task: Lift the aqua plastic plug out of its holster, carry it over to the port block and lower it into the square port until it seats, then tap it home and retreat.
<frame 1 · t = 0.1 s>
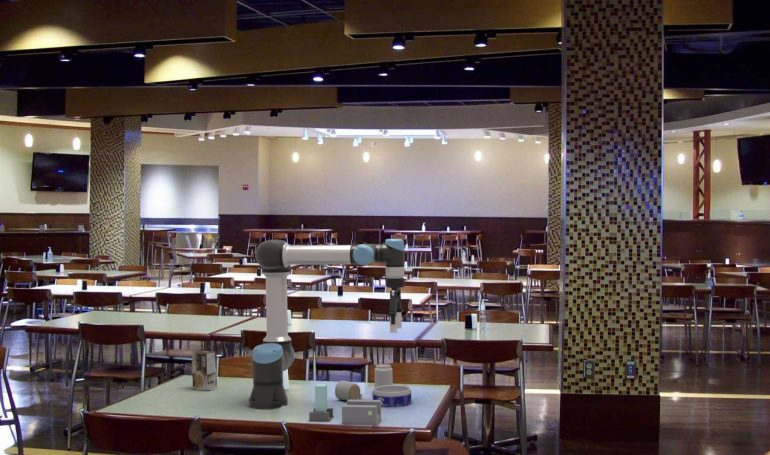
hand: (395, 330, 338), 28 cm above the table, tool pointing down, fingers open, 13 cm apart
holster: (321, 421, 304), on the table
dog bowl: (392, 404, 333), on the table
port: (362, 422, 301), on the table
coffee box: (204, 389, 367), on the table
ceramic mug: (349, 400, 341), on the table
plug: (321, 418, 304), point 1 cm above the table, touching holster
can: (383, 394, 352), on the table
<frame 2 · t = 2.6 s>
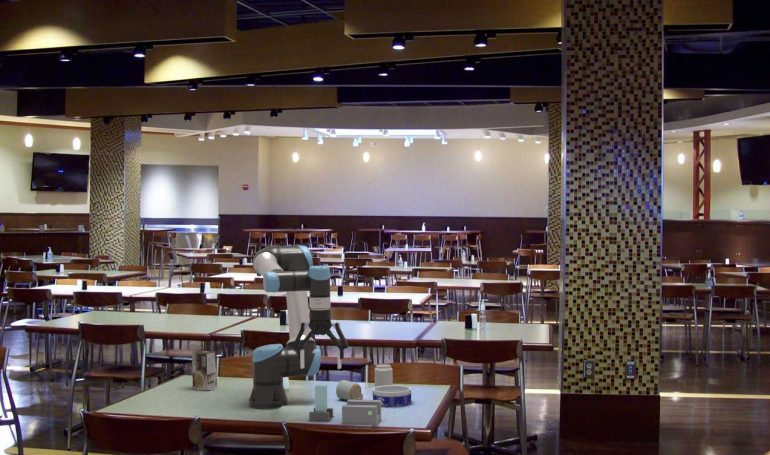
hand: (320, 368, 304), 19 cm above the table, tool pointing down, fingers open, 13 cm apart
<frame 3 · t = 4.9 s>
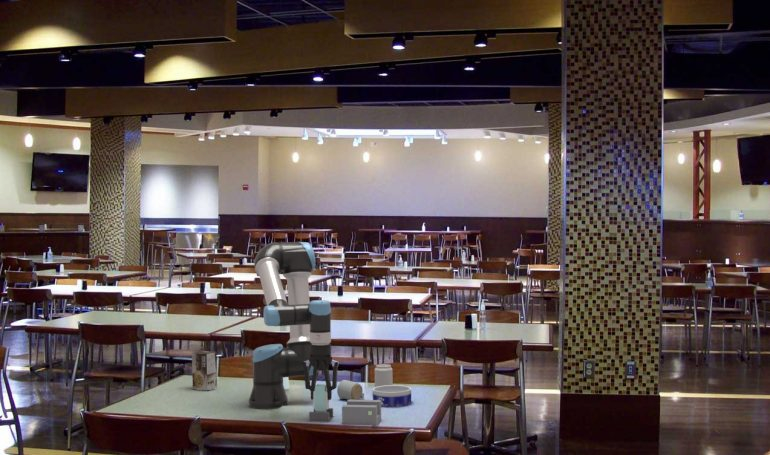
hand: (321, 408, 304), 5 cm above the table, tool pointing down, fingers closed on plug, 4 cm apart
plug: (321, 418, 304), point 1 cm above the table, touching gripper, holster
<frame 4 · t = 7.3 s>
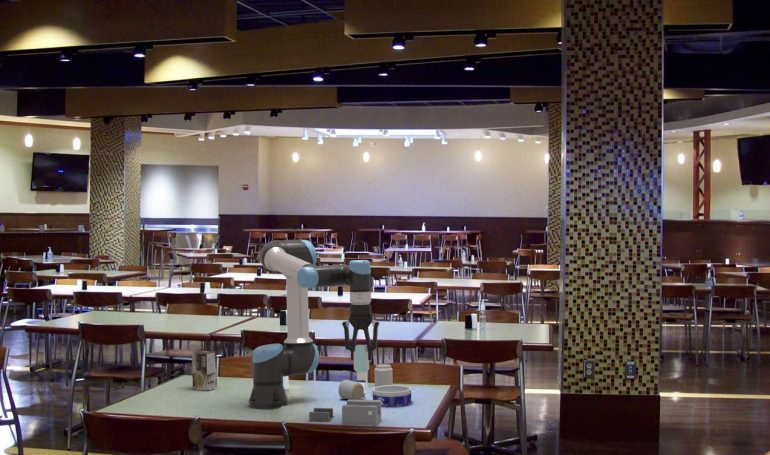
hand: (361, 369, 300), 19 cm above the table, tool pointing down, fingers closed on plug, 4 cm apart
plug: (361, 379, 300), point 16 cm above the table, touching gripper
when the fingers open (5 cm above the table, at t = 10.0 s): plug drops 1 cm, resting in port.
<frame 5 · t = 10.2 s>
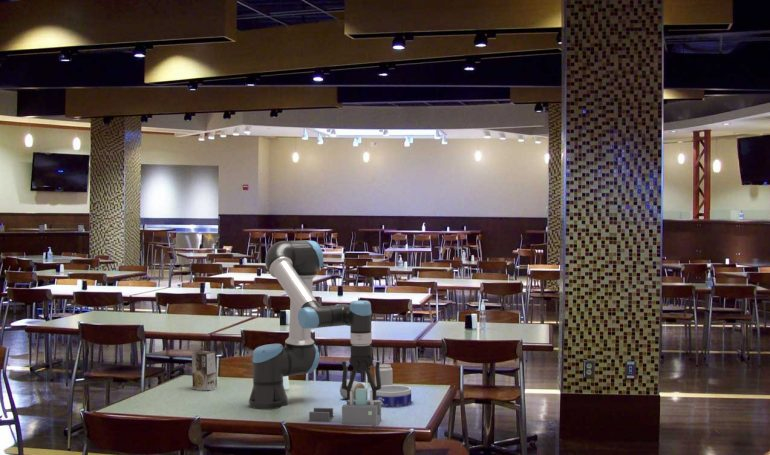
hand: (361, 409, 301), 5 cm above the table, tool pointing down, fingers open, 7 cm apart
plug: (362, 423, 301), resting in port
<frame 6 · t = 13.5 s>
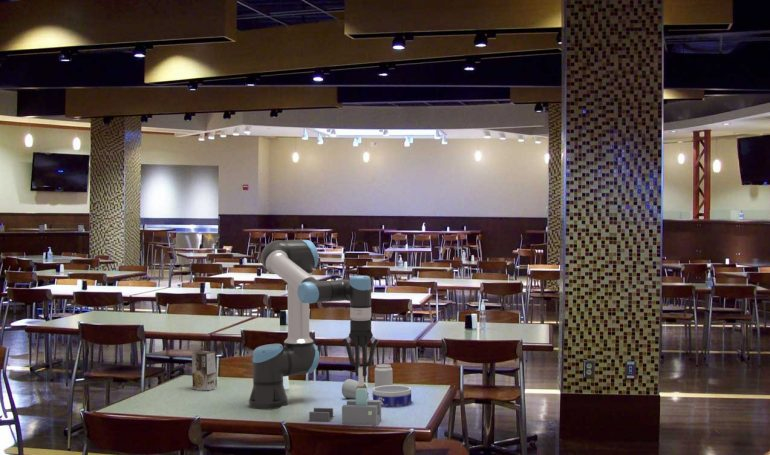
hand: (361, 385, 301), 13 cm above the table, tool pointing down, fingers closed
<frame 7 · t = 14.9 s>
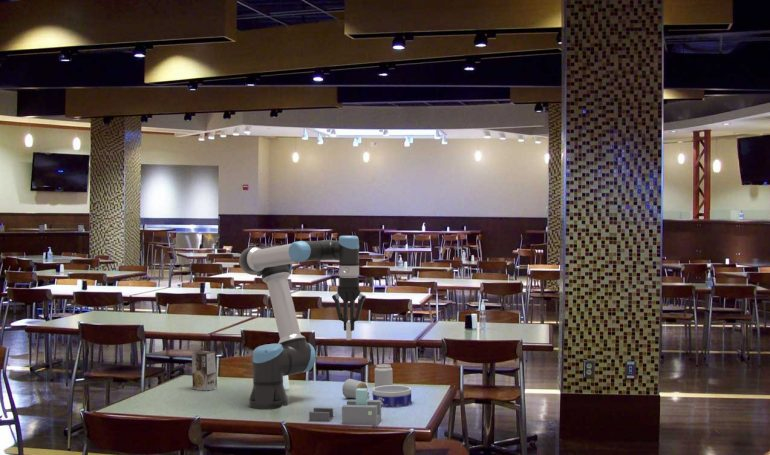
hand: (349, 339, 318), 27 cm above the table, tool pointing down, fingers closed
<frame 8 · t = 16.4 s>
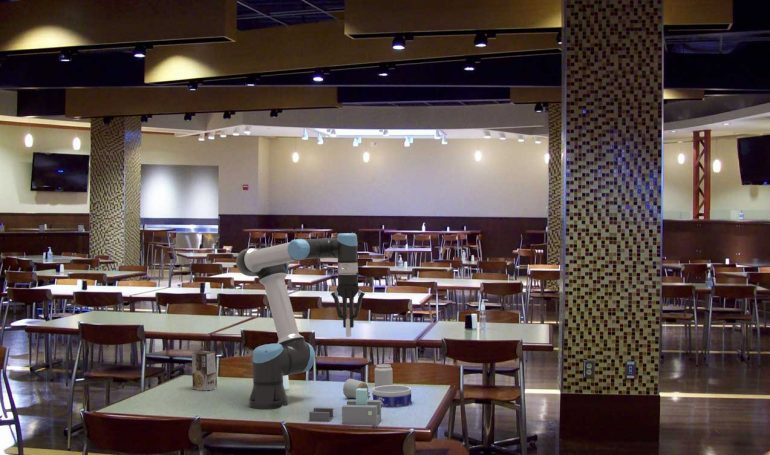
hand: (348, 336, 320), 28 cm above the table, tool pointing down, fingers closed
at the end: plug 0.1 cm off-centre on the port, point 0.0 cm above the port's base; plug tilted 0°; the gripper is holding nothing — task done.
